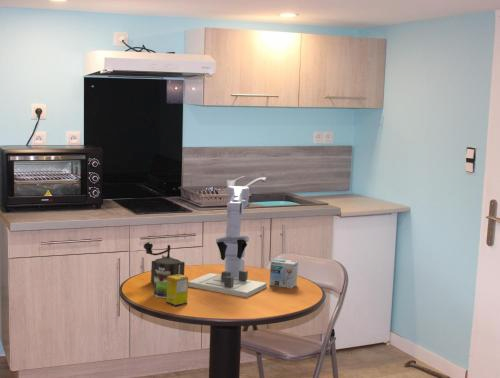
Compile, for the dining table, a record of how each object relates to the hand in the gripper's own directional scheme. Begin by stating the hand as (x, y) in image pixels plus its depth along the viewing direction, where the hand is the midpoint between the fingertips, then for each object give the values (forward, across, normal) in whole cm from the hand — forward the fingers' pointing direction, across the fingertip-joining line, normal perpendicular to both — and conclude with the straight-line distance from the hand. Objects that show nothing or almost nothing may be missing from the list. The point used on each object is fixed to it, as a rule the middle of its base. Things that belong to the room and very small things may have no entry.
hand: (230, 258), depth 300 cm
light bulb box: (+5, +13, +26) cm, 29 cm away
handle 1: (+11, -1, +2) cm, 12 cm away
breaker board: (+10, -5, +9) cm, 14 cm away
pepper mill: (+10, -30, -3) cm, 32 cm away
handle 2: (+5, 0, +14) cm, 15 cm away
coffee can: (+19, -20, -15) cm, 31 cm away
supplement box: (+25, -11, -22) cm, 34 cm away
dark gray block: (+7, -6, +7) cm, 12 cm away
